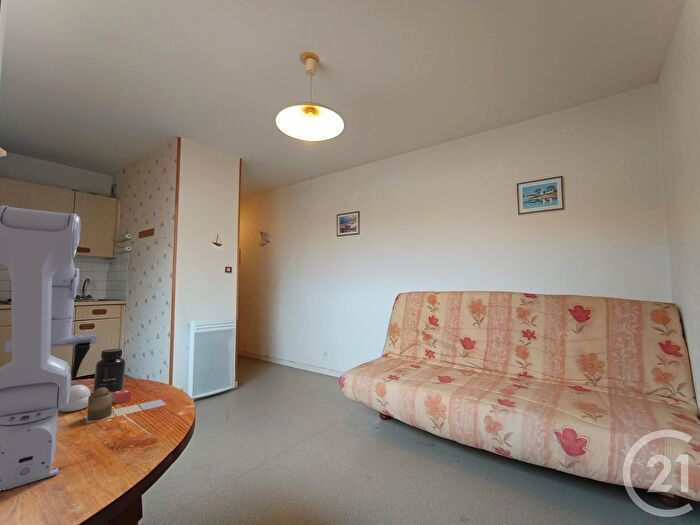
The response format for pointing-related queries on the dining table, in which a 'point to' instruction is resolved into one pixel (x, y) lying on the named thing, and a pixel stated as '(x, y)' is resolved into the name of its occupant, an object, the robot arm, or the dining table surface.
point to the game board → (132, 409)
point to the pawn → (100, 404)
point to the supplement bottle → (110, 370)
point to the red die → (121, 396)
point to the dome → (77, 398)
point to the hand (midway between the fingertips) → (50, 380)
